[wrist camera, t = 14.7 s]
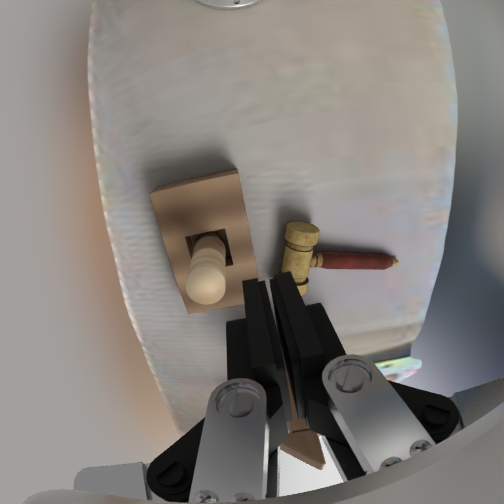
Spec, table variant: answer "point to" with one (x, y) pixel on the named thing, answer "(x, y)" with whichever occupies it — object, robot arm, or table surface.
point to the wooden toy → (302, 439)
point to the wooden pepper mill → (207, 269)
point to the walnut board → (206, 230)
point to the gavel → (322, 255)
